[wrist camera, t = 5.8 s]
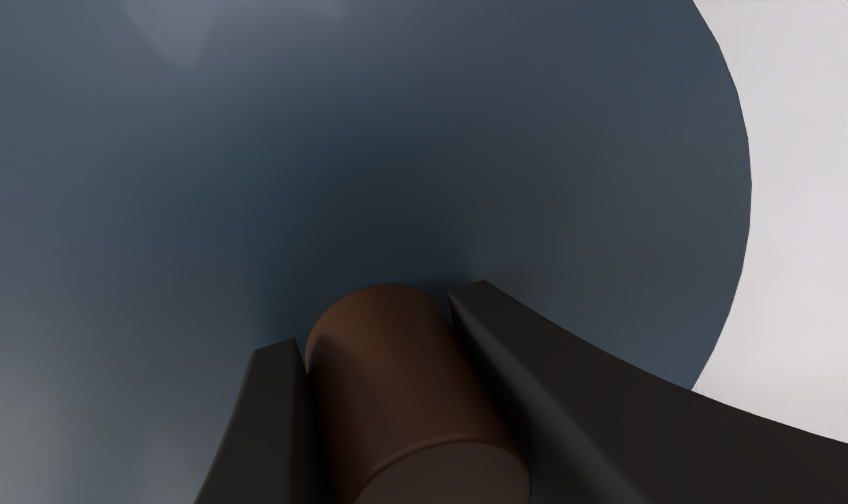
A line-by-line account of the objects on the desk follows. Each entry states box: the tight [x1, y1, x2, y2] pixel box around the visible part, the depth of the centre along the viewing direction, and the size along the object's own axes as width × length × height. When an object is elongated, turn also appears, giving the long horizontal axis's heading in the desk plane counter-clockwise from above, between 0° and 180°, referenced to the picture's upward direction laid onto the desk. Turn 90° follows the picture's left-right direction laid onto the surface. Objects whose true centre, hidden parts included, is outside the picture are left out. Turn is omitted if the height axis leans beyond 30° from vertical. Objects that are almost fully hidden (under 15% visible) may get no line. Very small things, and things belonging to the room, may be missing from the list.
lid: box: [0, 0, 752, 504], centre depth 9 cm, size 14×14×4 cm
